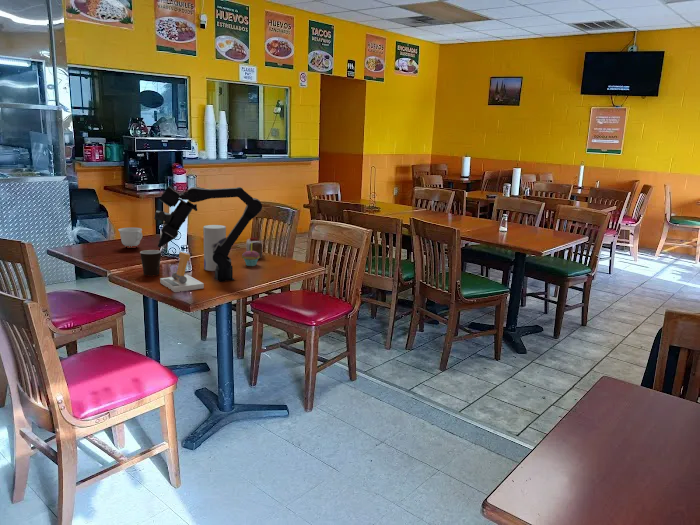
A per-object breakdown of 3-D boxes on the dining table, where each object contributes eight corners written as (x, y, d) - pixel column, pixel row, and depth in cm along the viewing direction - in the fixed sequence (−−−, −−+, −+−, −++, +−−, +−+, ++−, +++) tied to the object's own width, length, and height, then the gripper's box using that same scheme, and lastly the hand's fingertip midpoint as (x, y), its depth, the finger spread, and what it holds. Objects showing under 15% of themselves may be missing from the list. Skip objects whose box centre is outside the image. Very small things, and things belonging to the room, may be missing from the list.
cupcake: (261, 266, 266) (261, 242, 264) (243, 267, 263) (243, 242, 260) (257, 262, 274) (257, 238, 271) (240, 263, 271) (240, 239, 268)
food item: (244, 253, 294) (244, 235, 292) (259, 252, 297) (259, 234, 294) (249, 259, 281) (249, 239, 279) (264, 258, 284) (265, 239, 282)
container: (218, 272, 252) (218, 228, 248) (199, 269, 255) (198, 226, 251) (230, 267, 261) (229, 225, 257) (211, 265, 265) (211, 223, 260)
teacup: (132, 251, 286) (131, 232, 284) (114, 248, 293) (113, 229, 291) (151, 248, 296) (151, 229, 294) (133, 244, 303) (132, 226, 301)
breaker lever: (179, 277, 230) (185, 252, 229) (184, 280, 226) (190, 255, 225) (174, 277, 228) (179, 251, 228) (178, 279, 225) (184, 254, 224)
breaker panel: (188, 279, 238) (187, 268, 237) (203, 288, 226) (203, 276, 225) (160, 283, 231) (160, 271, 230) (174, 292, 219) (174, 280, 218)
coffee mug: (155, 277, 239) (154, 254, 237) (137, 275, 241) (136, 253, 239) (169, 271, 250) (168, 249, 248) (151, 269, 252) (150, 248, 250)
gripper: (164, 200, 236) (143, 230, 236) (162, 205, 218) (139, 238, 218) (187, 214, 239) (166, 244, 240) (187, 221, 222) (165, 253, 222)
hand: (159, 244), depth 230 cm, fingers open, 9 cm apart
